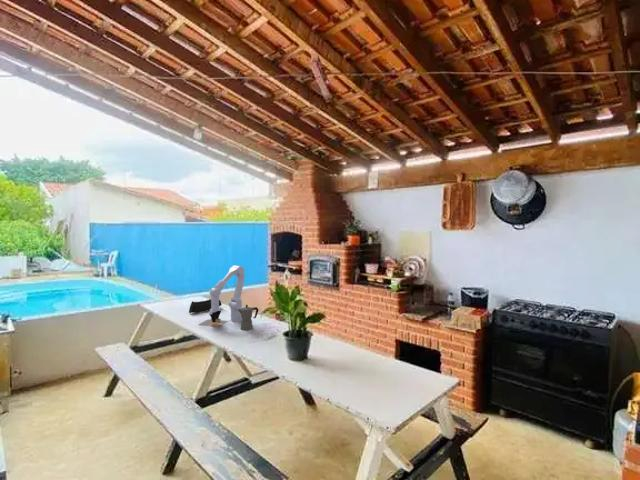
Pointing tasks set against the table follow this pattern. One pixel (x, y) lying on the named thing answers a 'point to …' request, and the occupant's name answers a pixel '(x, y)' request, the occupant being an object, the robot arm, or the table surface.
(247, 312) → the coffeepot
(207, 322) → the mat
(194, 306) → the black tray
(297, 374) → the table surface
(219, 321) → the card box
